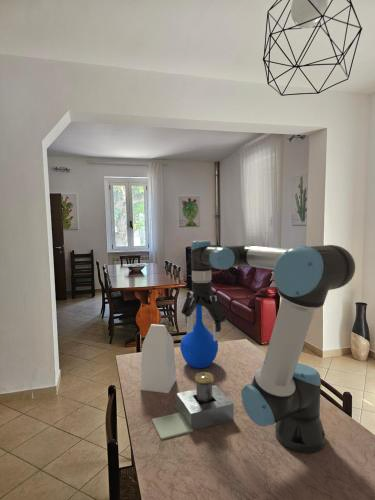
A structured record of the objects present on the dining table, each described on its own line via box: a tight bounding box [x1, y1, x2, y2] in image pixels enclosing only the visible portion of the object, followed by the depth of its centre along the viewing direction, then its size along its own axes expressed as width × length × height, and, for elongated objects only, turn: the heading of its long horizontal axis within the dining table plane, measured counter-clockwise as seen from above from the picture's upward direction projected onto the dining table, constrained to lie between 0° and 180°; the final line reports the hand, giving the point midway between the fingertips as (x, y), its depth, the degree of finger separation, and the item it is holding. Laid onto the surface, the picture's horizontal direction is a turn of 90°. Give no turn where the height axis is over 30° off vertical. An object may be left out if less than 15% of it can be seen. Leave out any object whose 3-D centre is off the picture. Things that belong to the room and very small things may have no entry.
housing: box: [176, 384, 235, 431], centre depth 118 cm, size 14×16×6 cm
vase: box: [179, 305, 219, 369], centre depth 159 cm, size 18×18×30 cm
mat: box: [151, 411, 194, 441], centre depth 112 cm, size 11×11×1 cm
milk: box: [140, 323, 177, 394], centre depth 139 cm, size 12×12×26 cm
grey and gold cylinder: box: [194, 371, 214, 405], centre depth 118 cm, size 7×7×14 cm
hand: (202, 335), depth 127 cm, fingers open, 13 cm apart
